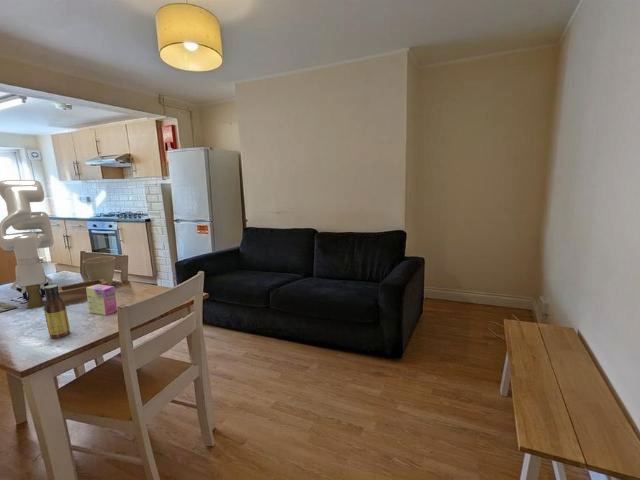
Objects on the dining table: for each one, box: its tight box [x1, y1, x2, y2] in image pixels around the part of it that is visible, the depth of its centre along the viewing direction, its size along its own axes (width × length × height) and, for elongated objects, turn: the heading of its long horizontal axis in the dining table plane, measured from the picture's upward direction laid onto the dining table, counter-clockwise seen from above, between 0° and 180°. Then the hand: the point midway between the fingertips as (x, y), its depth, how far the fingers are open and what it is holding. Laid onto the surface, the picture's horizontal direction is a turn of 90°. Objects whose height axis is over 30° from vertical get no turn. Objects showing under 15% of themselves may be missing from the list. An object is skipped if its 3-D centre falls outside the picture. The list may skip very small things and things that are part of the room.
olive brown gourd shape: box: [26, 284, 45, 310], centre depth 150 cm, size 6×6×11 cm
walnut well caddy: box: [58, 279, 108, 307], centre depth 160 cm, size 12×20×7 cm, turn 135°
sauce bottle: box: [43, 284, 71, 339], centre depth 119 cm, size 7×6×20 cm
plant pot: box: [82, 255, 116, 286], centre depth 178 cm, size 15×15×16 cm
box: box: [86, 284, 118, 316], centre depth 142 cm, size 10×6×12 cm, turn 71°
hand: (34, 298), depth 150 cm, fingers open, 5 cm apart
